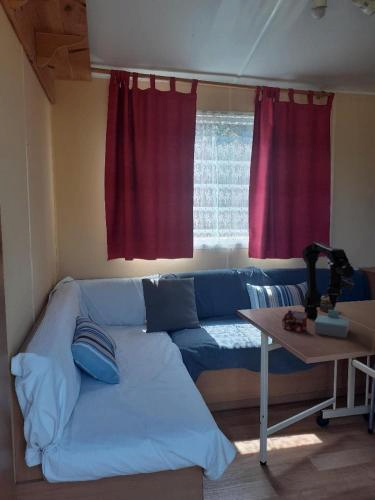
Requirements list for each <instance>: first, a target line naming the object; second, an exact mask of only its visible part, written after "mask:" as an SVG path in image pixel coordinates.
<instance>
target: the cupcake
mask: <svg viewBox="0 0 375 500" xmlns="http://www.w3.org/2000/svg"><path fill="white" fill-rule="evenodd" d="M328 310H335V307H333V306H332V304H331V301H330V299H329V297H328V295H327V293H326V294H322V295H321V304H320V307H319V311H321V312H324V313H328Z"/></svg>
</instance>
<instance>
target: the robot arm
mask: <svg viewBox="0 0 375 500" xmlns="http://www.w3.org/2000/svg"><path fill="white" fill-rule="evenodd" d="M321 254H324V255H325V256H326V258H327V259H328V260H329V261H328V262H327V264H328V265H329V276H328V278H329V282H328V283H329V284H328V287H327V289H326V294H327V295H328V297H329V299H330V301H331V304H332V306H333V307H334V308H335V307H336V305H337V303H338V300H339V297H340V296H341V295H342V291H343V290H344V289H346V290H348V291H352V290H354V289H353V288H354V287H355V282H353V279H351V277H353V275H354V274H355V269H354V267H353V266H352V265H351V262H349V259H348V257H347V254H346V252H345V250H344V249H342V248H335V247H331V246H329V245H327V244H324V243H323V242H321V241H314V242H312V243H311V244H309V245H308V246H306V247H305V248H304V249H303V250H302V252H301V255H302V260H303V261H304V263H305V265H306V280H307V281H306V282H307V289H306V292H305V294H304V298H303V300H302V302H301V307H302V308H304V312H306V313H307V314H308V317H307V319H309V320H316V318H317V317H318V315H319V310H318V308H320V304H321V298H322V294H321V292H319V291H318V288H317V287H318V286H317V285H318V283H317V267H316V266H317V265H316V264H317V262H318V260H319V256H320V255H321ZM344 278H349V279H344Z"/></svg>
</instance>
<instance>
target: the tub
mask: <svg viewBox="0 0 375 500" xmlns="http://www.w3.org/2000/svg"><path fill="white" fill-rule="evenodd" d="M349 323H350V322H348V326H347V327H342V326H335V325H327V324H320V323H315V322H314V334H317V335H325V336H331V337H337V338H344V339H346V338H347V337H348V333H349V325H350V324H349Z"/></svg>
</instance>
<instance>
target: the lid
mask: <svg viewBox="0 0 375 500" xmlns="http://www.w3.org/2000/svg"><path fill="white" fill-rule="evenodd" d="M349 321H350V318H346V317H340V310H336V309H334V310H328V312H327V315H322V314H321V315H320V314H318V317H317V318H316V319H314V324H315V323H320V324H327V325H335V326H342V327H347V326H348V327H349V325H348V322H349ZM349 323H350V322H349Z"/></svg>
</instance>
